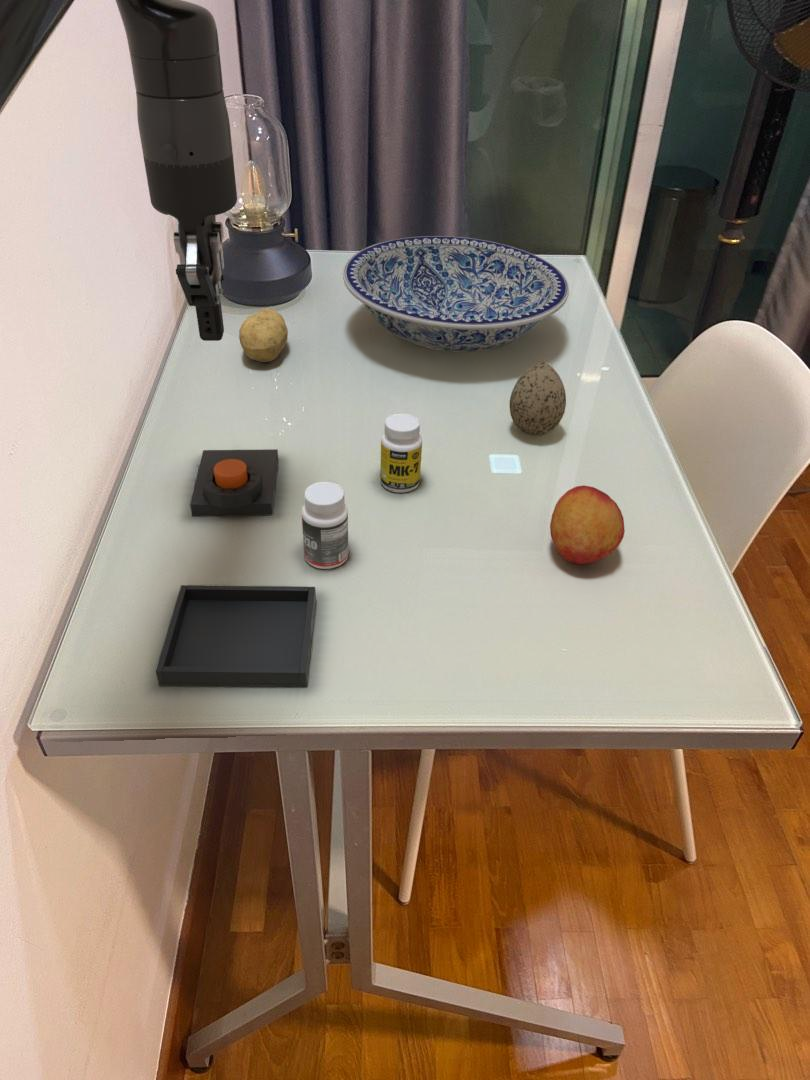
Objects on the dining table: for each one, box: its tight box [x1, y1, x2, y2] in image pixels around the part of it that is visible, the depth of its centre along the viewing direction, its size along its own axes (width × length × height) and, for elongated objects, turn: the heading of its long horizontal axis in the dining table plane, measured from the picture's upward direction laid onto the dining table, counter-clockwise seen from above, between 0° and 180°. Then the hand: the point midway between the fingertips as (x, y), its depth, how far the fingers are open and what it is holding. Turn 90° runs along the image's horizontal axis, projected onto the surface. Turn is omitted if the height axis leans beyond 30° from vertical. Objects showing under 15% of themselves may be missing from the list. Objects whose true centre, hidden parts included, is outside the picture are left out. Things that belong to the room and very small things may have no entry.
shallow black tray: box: [155, 584, 317, 688], centre depth 77 cm, size 13×11×2 cm
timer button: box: [214, 459, 248, 489], centre depth 91 cm, size 4×4×2 cm
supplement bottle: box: [379, 412, 423, 494], centre depth 95 cm, size 5×5×8 cm
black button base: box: [189, 449, 279, 517], centre depth 95 cm, size 12×9×4 cm
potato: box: [238, 308, 289, 363], centre depth 120 cm, size 7×11×6 cm, turn 172°
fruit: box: [549, 484, 626, 565], centre depth 86 cm, size 8×8×8 cm
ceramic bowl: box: [342, 235, 570, 353], centre depth 126 cm, size 34×34×10 cm
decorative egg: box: [509, 361, 567, 437], centre depth 104 cm, size 7×7×10 cm
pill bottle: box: [301, 481, 350, 570], centre depth 84 cm, size 5×5×8 cm
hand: (212, 337), depth 81 cm, fingers closed
